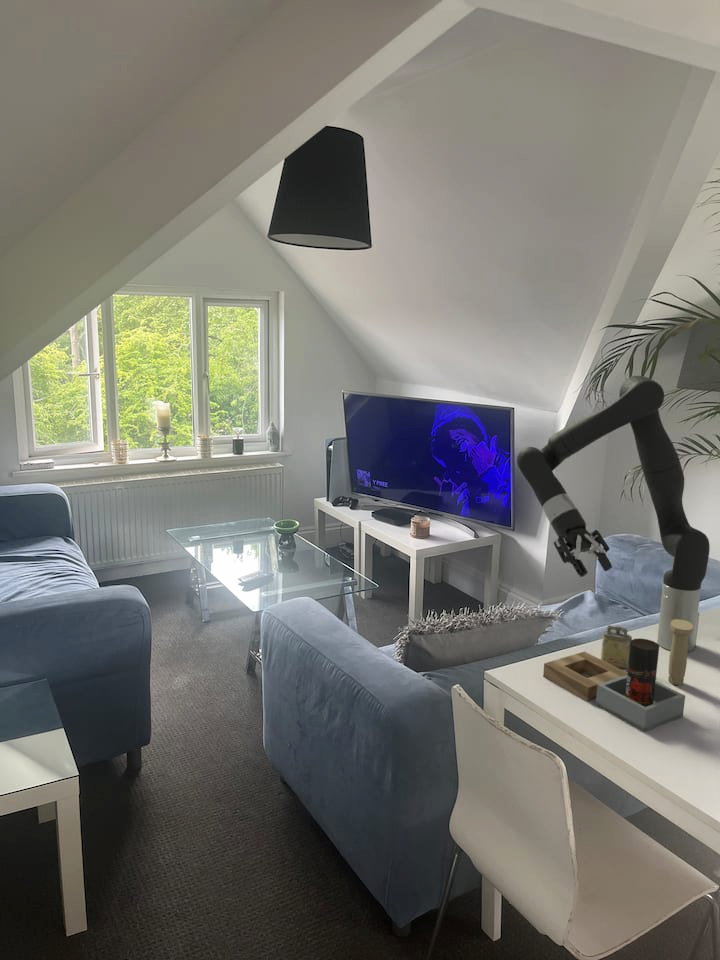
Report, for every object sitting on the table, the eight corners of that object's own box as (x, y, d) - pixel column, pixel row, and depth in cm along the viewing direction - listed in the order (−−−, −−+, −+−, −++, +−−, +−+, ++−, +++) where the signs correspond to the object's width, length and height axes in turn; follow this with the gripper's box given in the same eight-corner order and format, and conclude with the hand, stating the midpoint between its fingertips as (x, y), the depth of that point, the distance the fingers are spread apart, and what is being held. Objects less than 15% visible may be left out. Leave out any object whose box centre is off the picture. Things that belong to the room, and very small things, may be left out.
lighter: (630, 664, 183) (633, 627, 181) (629, 670, 180) (632, 633, 178) (600, 659, 186) (604, 622, 184) (599, 665, 183) (602, 628, 181)
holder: (583, 664, 183) (584, 651, 182) (628, 687, 171) (629, 673, 170) (543, 676, 176) (544, 663, 175) (587, 701, 164) (588, 687, 163)
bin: (634, 691, 169) (636, 671, 168) (682, 716, 158) (685, 695, 157) (595, 704, 163) (597, 684, 162) (643, 732, 152) (646, 710, 151)
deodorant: (618, 702, 162) (624, 640, 159) (639, 698, 164) (645, 637, 161) (637, 715, 157) (644, 651, 154) (658, 710, 159) (665, 647, 156)
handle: (685, 678, 176) (692, 621, 173) (687, 690, 170) (693, 631, 167) (664, 675, 177) (670, 618, 174) (665, 686, 172) (671, 627, 169)
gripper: (551, 511, 173) (585, 569, 166) (592, 504, 181) (626, 560, 173) (534, 527, 179) (566, 584, 172) (574, 520, 186) (607, 574, 179)
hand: (596, 572), depth 173 cm, fingers open, 8 cm apart
